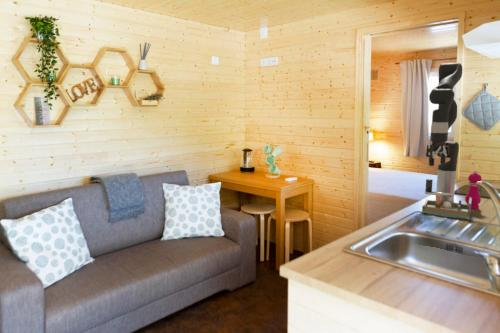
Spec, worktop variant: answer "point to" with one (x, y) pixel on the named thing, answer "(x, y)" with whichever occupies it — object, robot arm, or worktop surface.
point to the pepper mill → (473, 191)
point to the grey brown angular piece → (435, 193)
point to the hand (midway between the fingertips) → (437, 164)
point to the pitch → (454, 211)
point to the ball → (447, 205)
